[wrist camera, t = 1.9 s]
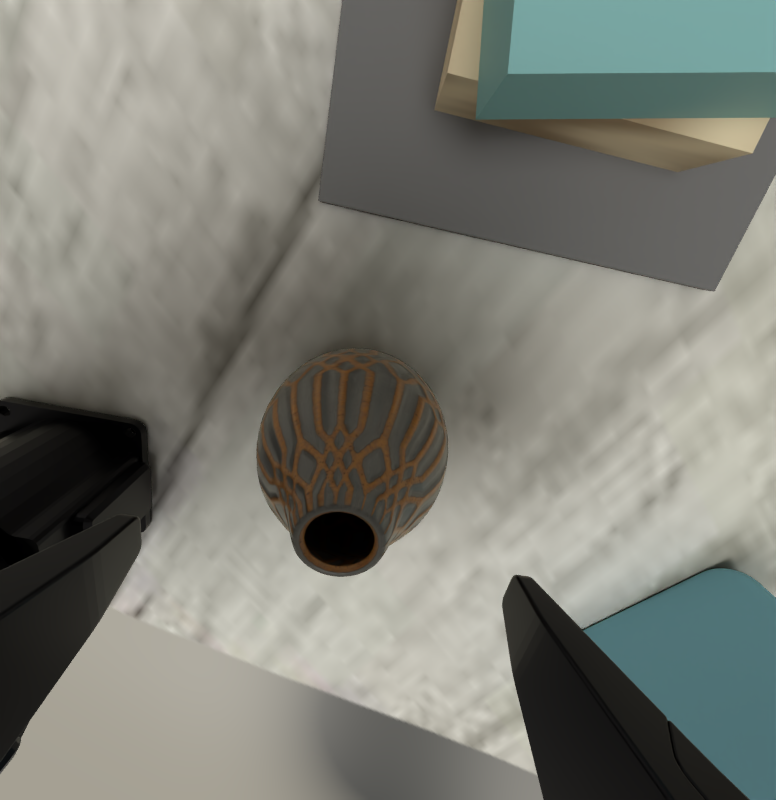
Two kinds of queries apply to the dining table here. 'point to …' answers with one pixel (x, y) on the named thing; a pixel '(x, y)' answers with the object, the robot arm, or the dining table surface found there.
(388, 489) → the vase
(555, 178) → the charcoal mat
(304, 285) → the dining table surface
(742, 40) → the teal block
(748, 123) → the beech block
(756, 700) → the light blue flat block
